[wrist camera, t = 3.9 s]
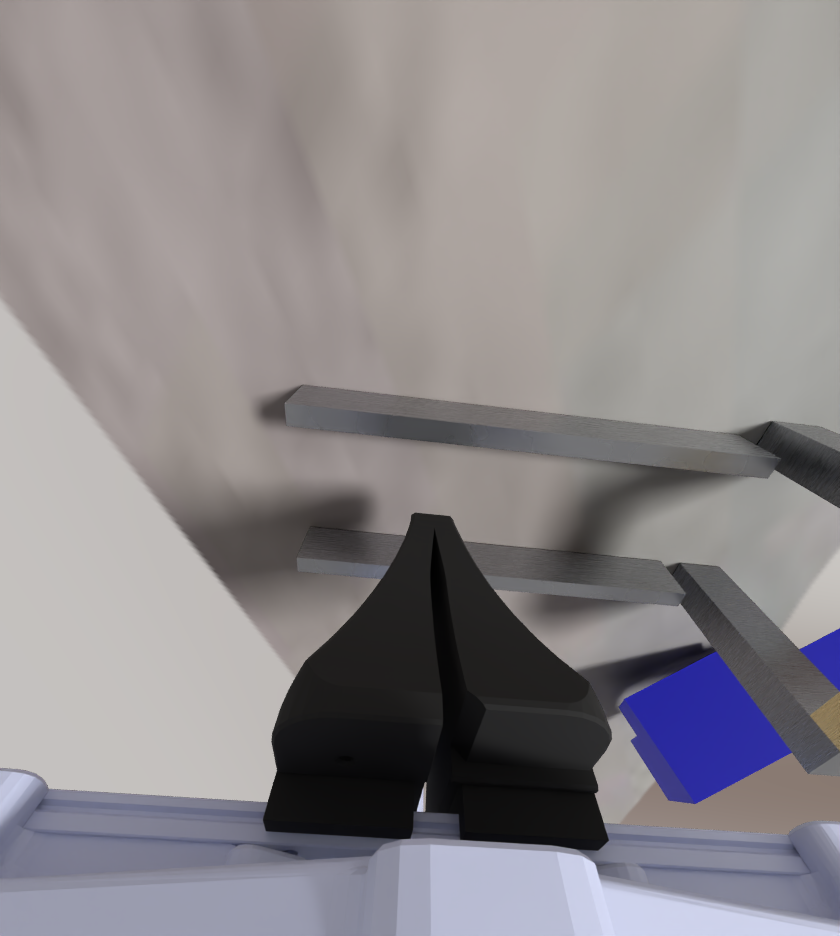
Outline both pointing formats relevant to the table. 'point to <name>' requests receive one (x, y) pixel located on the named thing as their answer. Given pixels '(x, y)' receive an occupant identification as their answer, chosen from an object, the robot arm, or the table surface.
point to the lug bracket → (756, 637)
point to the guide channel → (523, 434)
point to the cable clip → (710, 725)
